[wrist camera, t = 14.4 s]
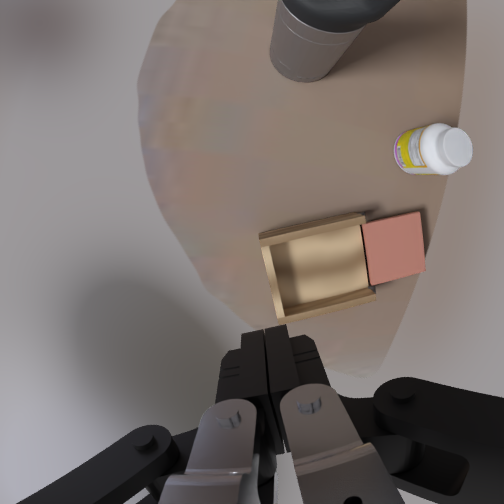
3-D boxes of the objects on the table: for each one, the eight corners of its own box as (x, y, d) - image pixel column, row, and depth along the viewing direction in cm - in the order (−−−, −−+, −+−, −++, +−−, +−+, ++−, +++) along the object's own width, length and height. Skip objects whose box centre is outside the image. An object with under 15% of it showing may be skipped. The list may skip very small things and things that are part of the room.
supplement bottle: (435, 147, 42) (485, 142, 30) (418, 183, 43) (467, 187, 31) (402, 122, 41) (449, 108, 29) (384, 158, 43) (428, 153, 30)
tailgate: (363, 224, 42) (419, 211, 42) (360, 222, 44) (415, 210, 43) (372, 285, 44) (425, 270, 44) (369, 282, 46) (421, 268, 45)
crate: (258, 233, 45) (259, 239, 41) (359, 210, 44) (370, 214, 40) (276, 311, 48) (278, 325, 43) (371, 288, 47) (381, 298, 43)
